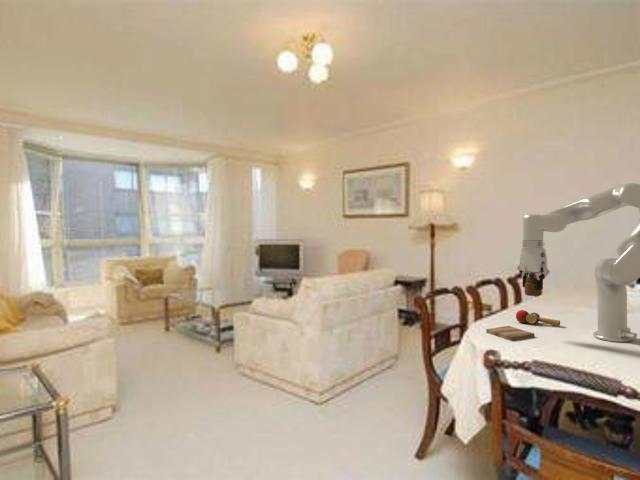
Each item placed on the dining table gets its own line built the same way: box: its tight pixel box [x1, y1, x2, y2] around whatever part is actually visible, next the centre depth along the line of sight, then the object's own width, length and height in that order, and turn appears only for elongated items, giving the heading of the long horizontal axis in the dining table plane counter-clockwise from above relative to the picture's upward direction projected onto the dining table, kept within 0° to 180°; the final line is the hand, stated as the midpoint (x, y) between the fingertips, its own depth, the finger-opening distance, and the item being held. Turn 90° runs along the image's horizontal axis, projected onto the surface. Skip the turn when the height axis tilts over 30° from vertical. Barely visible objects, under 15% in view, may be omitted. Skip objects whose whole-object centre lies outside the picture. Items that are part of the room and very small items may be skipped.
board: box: [485, 325, 535, 342], centre depth 170 cm, size 14×12×2 cm
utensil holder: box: [524, 266, 542, 297], centre depth 166 cm, size 6×6×12 cm
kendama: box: [515, 309, 561, 328], centre depth 185 cm, size 8×6×18 cm
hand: (532, 287), depth 166 cm, fingers closed on utensil holder, 5 cm apart
